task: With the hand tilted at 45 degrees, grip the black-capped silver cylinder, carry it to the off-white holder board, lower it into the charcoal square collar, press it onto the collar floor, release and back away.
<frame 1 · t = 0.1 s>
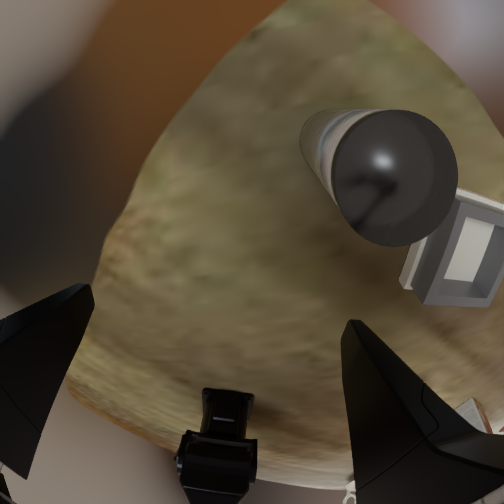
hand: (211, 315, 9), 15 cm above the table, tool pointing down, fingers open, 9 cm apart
black-capped silver cylinder: (332, 142, 20), on the table
holder: (454, 239, 23), on the table
small box: (465, 408, 37), on the table
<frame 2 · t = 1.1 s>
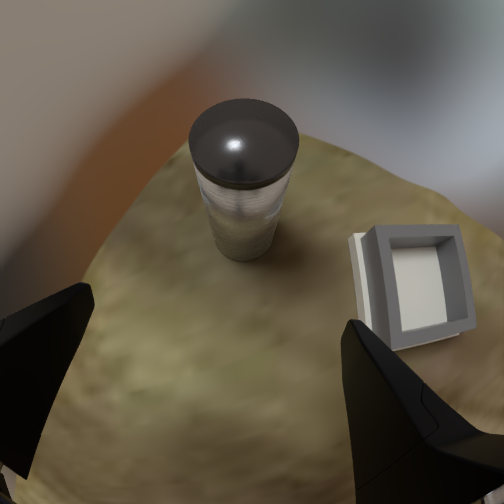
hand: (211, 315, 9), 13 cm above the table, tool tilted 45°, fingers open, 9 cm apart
black-capped silver cylinder: (243, 232, 24), on the table
holder: (404, 290, 23), on the table
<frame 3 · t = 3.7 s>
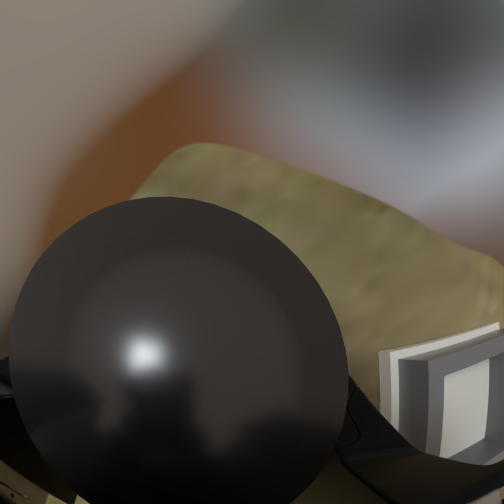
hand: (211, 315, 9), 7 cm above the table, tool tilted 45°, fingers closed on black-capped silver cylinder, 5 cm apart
black-capped silver cylinder: (221, 349, 15), on the table, touching gripper
holder: (442, 407, 14), on the table
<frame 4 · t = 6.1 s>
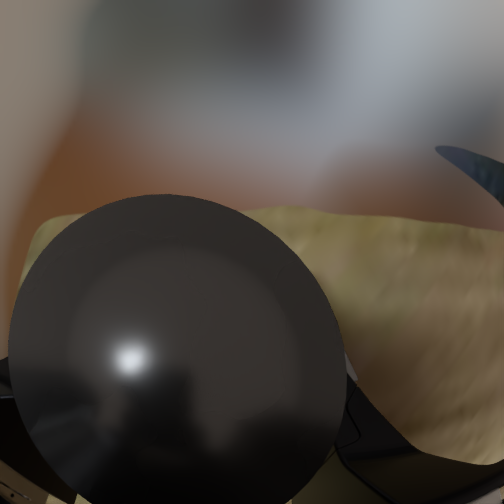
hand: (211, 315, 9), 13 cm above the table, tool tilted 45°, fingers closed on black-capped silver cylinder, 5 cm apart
black-capped silver cylinder: (221, 349, 15), point 7 cm above the table, touching gripper
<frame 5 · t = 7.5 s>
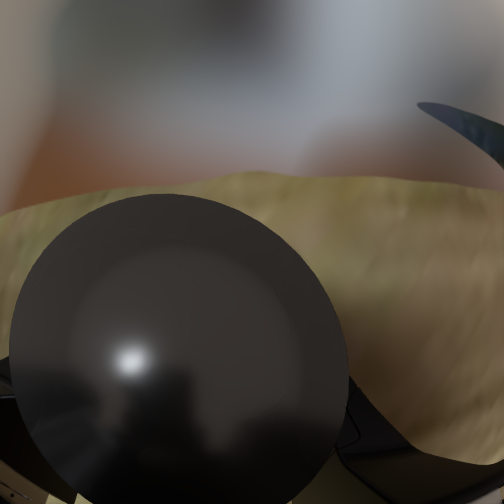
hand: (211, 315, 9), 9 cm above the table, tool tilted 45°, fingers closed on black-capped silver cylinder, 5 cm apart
black-capped silver cylinder: (221, 349, 15), point 2 cm above the table, touching gripper
when the fingers open (8 cm above the table, at t = 8.2 s): black-capped silver cylinder stays where it is, resting on holder.
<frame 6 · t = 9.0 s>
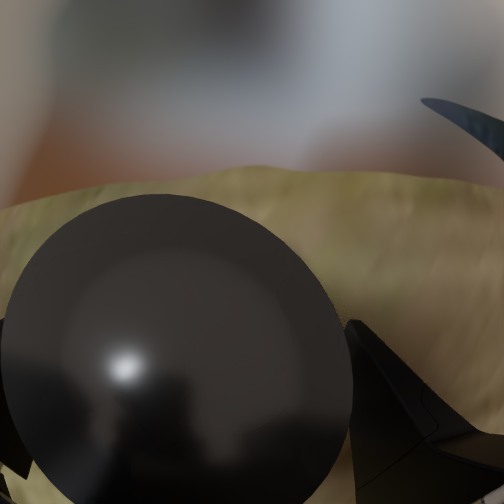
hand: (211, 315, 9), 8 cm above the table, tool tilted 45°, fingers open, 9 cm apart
black-capped silver cylinder: (220, 351, 15), point 1 cm above the table, touching holder
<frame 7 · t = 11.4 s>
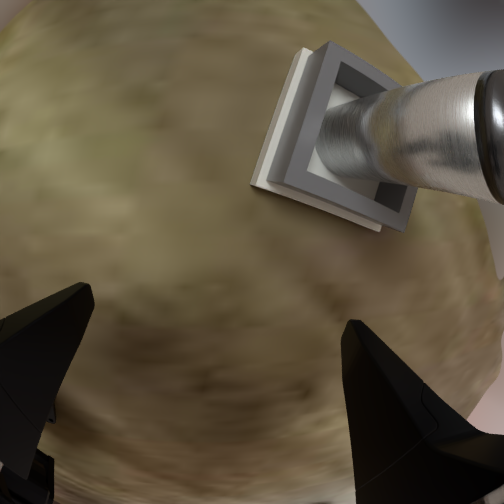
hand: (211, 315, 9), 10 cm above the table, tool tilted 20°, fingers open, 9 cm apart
black-capped silver cylinder: (347, 141, 17), point 2 cm above the table, touching holder
holder: (337, 142, 19), on the table
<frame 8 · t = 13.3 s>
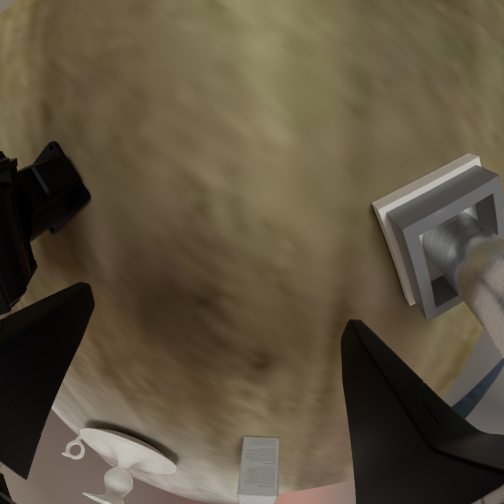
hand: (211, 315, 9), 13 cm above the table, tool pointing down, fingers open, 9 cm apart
black-capped silver cylinder: (447, 236, 19), point 2 cm above the table, touching holder
holder: (439, 228, 21), on the table
small box: (260, 444, 39), on the table
candlestick: (122, 439, 45), on the table
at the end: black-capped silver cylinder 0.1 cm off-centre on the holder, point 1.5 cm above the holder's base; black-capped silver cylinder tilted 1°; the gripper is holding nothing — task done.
